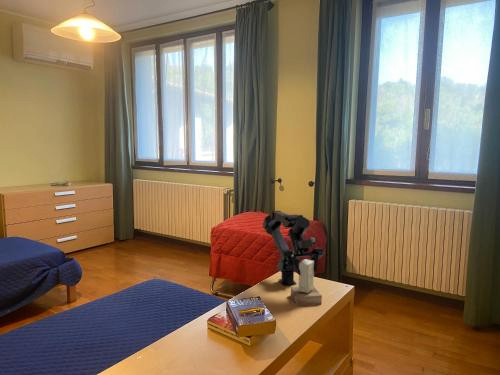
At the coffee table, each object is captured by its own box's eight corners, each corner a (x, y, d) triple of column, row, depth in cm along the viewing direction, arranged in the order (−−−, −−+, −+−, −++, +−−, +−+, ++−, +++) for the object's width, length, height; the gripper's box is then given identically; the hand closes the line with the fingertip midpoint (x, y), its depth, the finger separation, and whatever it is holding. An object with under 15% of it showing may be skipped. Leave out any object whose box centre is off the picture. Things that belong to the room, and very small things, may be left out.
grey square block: (290, 296, 163) (290, 287, 163) (312, 294, 165) (313, 285, 164) (298, 306, 153) (298, 297, 153) (321, 304, 155) (321, 295, 155)
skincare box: (308, 293, 155) (308, 265, 153) (297, 291, 157) (298, 263, 155) (313, 288, 160) (314, 260, 158) (304, 285, 163) (304, 258, 161)
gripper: (283, 232, 156) (293, 267, 147) (323, 229, 162) (335, 262, 153) (275, 245, 164) (284, 279, 156) (314, 241, 170) (325, 274, 162)
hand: (308, 273), depth 156 cm, fingers open, 7 cm apart
